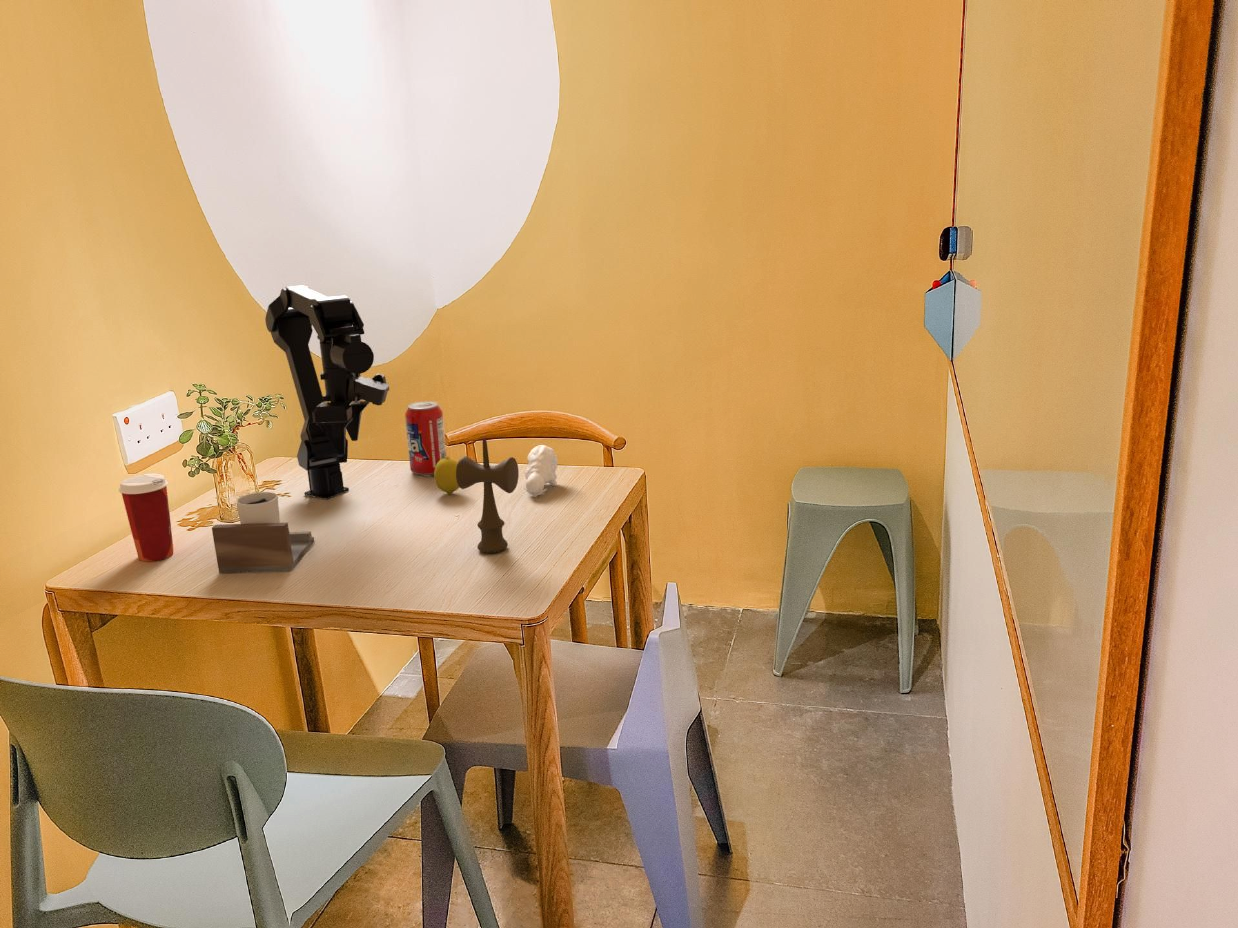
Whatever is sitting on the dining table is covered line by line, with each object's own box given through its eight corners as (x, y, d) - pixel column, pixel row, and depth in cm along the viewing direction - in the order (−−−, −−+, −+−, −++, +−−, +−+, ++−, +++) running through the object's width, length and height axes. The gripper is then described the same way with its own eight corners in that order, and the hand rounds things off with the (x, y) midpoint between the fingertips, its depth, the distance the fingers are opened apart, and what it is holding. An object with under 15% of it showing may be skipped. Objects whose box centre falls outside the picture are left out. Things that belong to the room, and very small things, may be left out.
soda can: (450, 474, 214) (444, 406, 209) (413, 479, 211) (407, 410, 207) (444, 465, 221) (438, 398, 216) (408, 469, 218) (401, 402, 214)
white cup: (250, 547, 173) (241, 493, 171) (289, 545, 174) (281, 490, 171) (239, 562, 167) (231, 505, 164) (280, 559, 168) (272, 503, 165)
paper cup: (189, 549, 176) (176, 474, 172) (157, 566, 169) (143, 487, 165) (154, 545, 179) (140, 471, 175) (121, 561, 172) (106, 484, 168)
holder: (247, 544, 178) (240, 501, 176) (314, 542, 178) (308, 499, 176) (219, 573, 166) (211, 527, 163) (291, 571, 165) (284, 525, 163)
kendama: (512, 558, 167) (504, 443, 162) (459, 554, 170) (449, 441, 164) (525, 545, 173) (518, 433, 167) (474, 541, 176) (465, 431, 170)
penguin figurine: (558, 442, 204) (546, 464, 193) (561, 479, 207) (549, 503, 196) (528, 441, 205) (515, 463, 194) (532, 479, 208) (518, 502, 197)
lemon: (466, 490, 203) (463, 452, 201) (459, 499, 198) (456, 460, 195) (440, 490, 204) (436, 452, 201) (432, 499, 198) (429, 460, 196)
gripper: (369, 375, 175) (379, 460, 180) (393, 354, 193) (401, 432, 197) (306, 377, 175) (317, 462, 180) (336, 356, 193) (345, 434, 198)
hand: (348, 447), depth 189 cm, fingers open, 9 cm apart
